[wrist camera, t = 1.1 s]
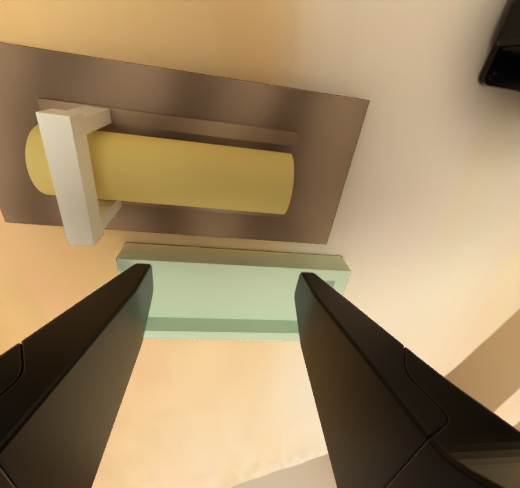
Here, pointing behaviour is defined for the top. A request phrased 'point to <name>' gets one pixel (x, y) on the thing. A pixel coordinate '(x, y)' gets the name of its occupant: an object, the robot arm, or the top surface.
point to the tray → (226, 290)
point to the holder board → (181, 138)
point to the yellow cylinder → (176, 172)
